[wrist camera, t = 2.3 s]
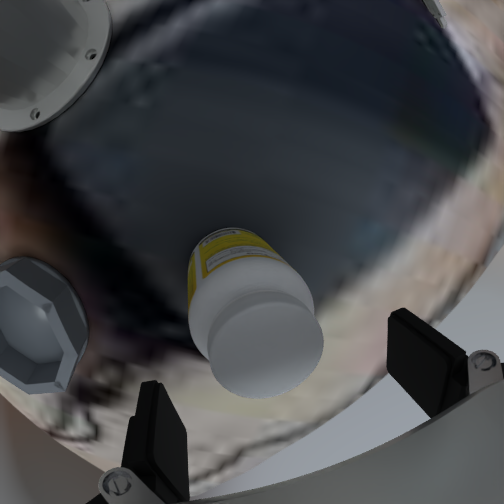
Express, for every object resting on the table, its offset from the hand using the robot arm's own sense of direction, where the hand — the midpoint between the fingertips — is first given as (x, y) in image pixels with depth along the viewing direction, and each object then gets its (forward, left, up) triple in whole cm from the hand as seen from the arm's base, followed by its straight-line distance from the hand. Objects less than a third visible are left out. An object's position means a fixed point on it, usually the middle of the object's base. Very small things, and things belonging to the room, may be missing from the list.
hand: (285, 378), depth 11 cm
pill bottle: (-1, 0, -12) cm, 12 cm away
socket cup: (-1, -17, -12) cm, 21 cm away
